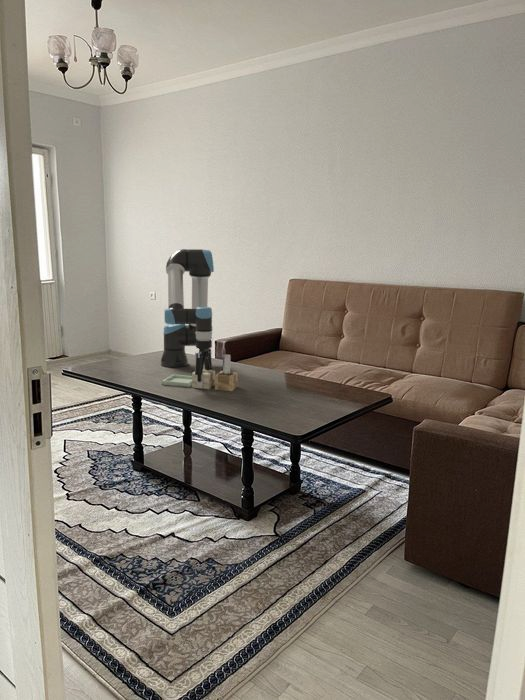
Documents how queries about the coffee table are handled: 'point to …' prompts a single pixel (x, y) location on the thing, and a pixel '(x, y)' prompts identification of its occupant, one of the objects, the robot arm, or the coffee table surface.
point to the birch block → (205, 379)
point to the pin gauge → (226, 365)
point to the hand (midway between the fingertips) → (203, 385)
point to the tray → (178, 381)
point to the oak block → (226, 381)
